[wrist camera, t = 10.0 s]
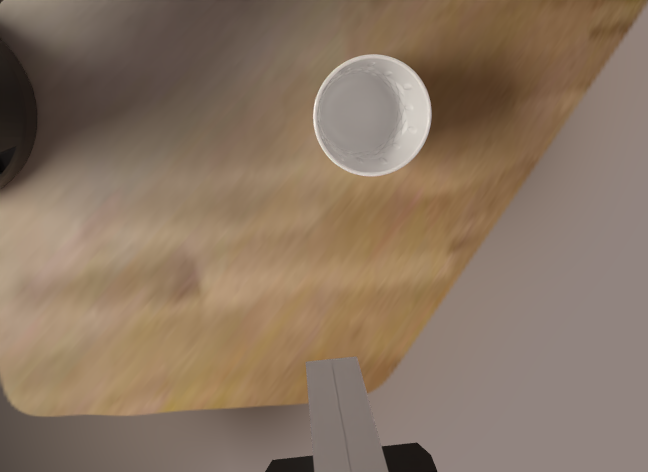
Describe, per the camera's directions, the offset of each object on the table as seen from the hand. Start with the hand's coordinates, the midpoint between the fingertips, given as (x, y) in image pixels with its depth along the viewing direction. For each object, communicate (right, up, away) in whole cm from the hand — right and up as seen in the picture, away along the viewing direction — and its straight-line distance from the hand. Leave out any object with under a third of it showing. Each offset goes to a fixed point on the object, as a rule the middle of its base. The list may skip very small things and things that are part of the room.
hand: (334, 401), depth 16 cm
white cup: (+2, +15, +30) cm, 34 cm away
